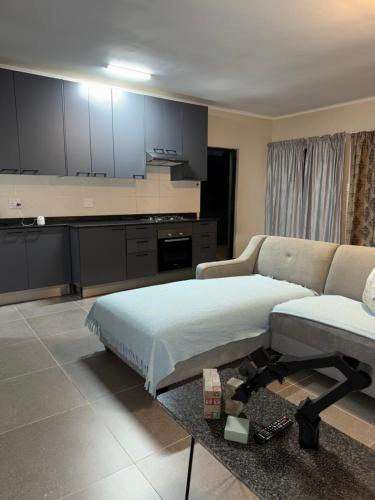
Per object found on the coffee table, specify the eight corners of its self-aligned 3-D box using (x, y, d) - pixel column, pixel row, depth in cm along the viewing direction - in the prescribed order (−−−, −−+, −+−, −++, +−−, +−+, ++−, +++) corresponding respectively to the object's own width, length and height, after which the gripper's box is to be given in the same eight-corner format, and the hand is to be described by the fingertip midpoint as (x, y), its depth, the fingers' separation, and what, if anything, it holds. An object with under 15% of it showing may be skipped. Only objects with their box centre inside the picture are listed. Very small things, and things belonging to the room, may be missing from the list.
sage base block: (248, 429, 129) (249, 419, 128) (246, 444, 121) (247, 434, 120) (227, 424, 131) (228, 415, 130) (224, 439, 123) (224, 429, 123)
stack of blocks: (202, 387, 155) (203, 362, 152) (216, 387, 155) (217, 362, 152) (204, 419, 134) (205, 390, 131) (220, 419, 134) (221, 390, 131)
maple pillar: (242, 410, 139) (243, 381, 136) (236, 417, 135) (238, 387, 132) (231, 406, 142) (232, 377, 139) (225, 412, 137) (226, 383, 135)
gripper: (261, 348, 137) (235, 365, 146) (241, 368, 122) (213, 386, 130) (279, 373, 135) (251, 388, 143) (260, 396, 119) (230, 412, 128)
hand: (236, 393), depth 136 cm, fingers open, 9 cm apart
